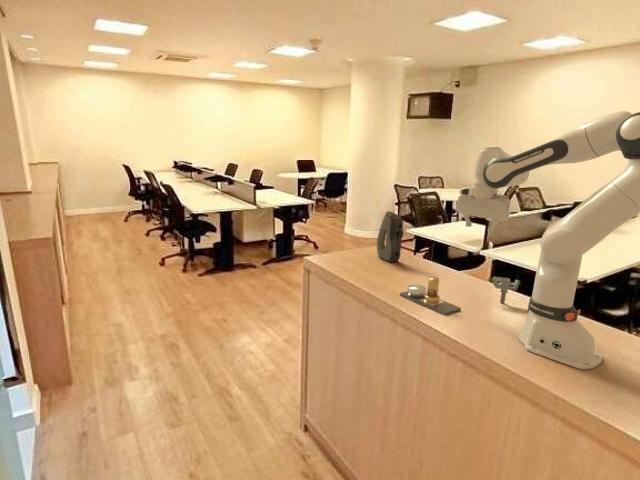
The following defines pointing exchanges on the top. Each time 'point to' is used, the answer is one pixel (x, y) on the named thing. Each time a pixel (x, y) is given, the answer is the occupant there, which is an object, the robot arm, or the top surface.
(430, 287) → the gold pawn piece
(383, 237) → the handheld device
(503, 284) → the mechanical component
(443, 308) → the carrier plate
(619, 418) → the top surface
